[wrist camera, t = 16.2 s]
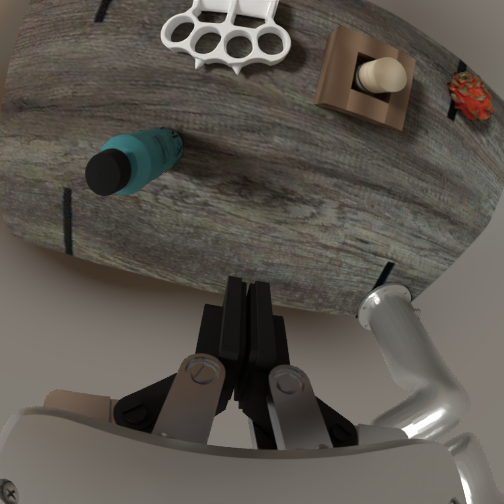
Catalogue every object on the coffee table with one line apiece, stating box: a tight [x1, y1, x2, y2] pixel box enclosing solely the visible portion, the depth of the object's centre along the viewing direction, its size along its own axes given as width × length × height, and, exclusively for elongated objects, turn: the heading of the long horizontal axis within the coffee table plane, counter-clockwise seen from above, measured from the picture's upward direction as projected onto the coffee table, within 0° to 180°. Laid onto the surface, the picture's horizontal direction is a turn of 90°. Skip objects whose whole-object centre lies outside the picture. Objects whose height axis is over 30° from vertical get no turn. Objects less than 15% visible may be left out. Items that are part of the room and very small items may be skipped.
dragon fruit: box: [447, 71, 493, 121], centre depth 28 cm, size 8×8×12 cm
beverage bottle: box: [85, 127, 184, 196], centre depth 28 cm, size 6×7×20 cm
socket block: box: [314, 26, 416, 131], centre depth 30 cm, size 12×12×6 cm
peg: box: [351, 57, 407, 94], centre depth 27 cm, size 5×5×10 cm
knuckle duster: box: [161, 0, 291, 76], centre depth 28 cm, size 3×18×15 cm
